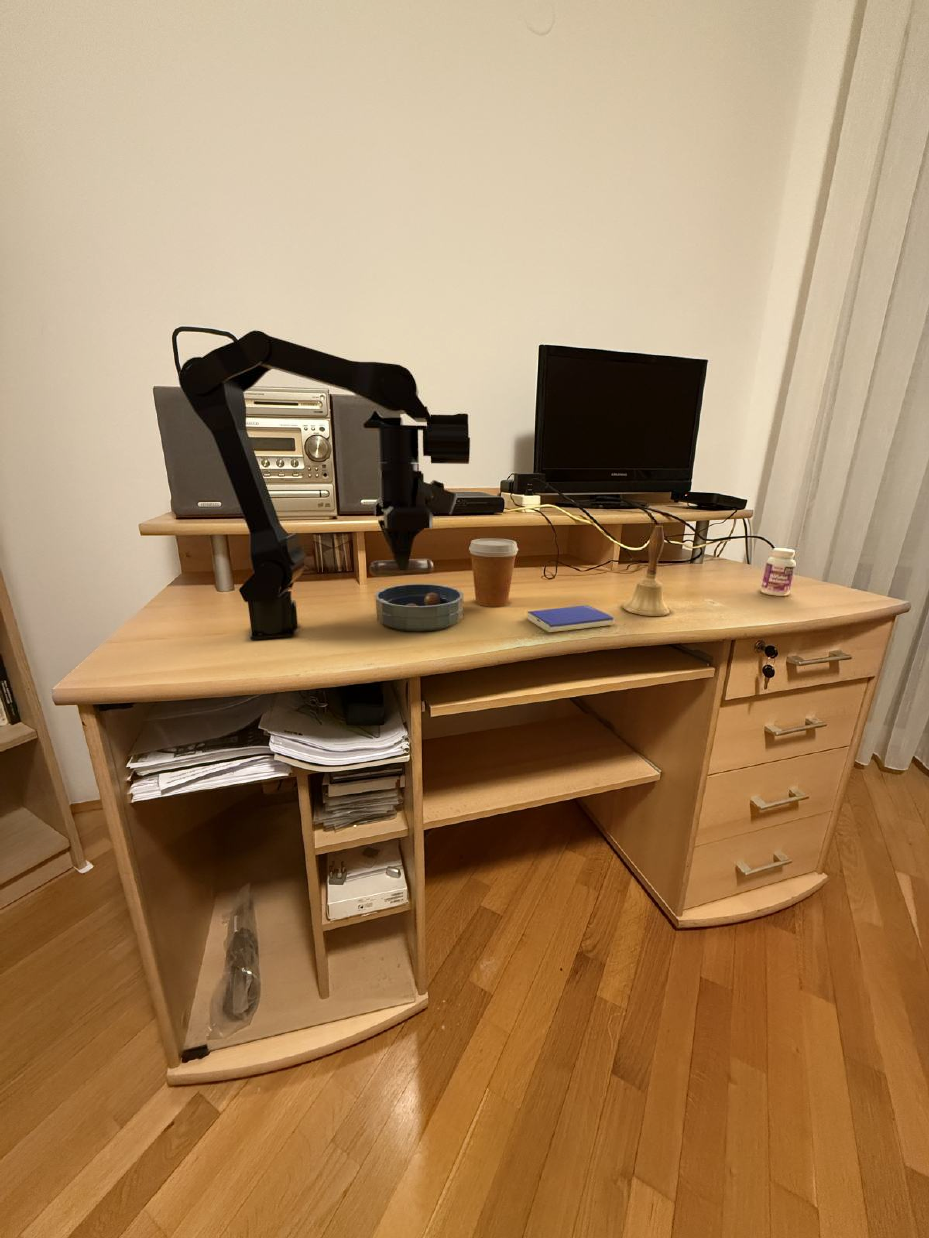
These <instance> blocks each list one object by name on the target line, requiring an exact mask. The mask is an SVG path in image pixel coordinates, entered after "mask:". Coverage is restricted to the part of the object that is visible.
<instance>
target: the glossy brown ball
mask: <svg viewBox="0 0 929 1238" xmlns="http://www.w3.org/2000/svg"><path fill="white" fill-rule="evenodd" d="M440 602H441V600H440V597H439V595H437V594H436V593H429V594H427V595H426V596H425V598H424V604H425V606H432V605H440Z"/></svg>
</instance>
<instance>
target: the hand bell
mask: <svg viewBox="0 0 929 1238" xmlns="http://www.w3.org/2000/svg"><path fill="white" fill-rule="evenodd" d="M664 545H665V534H664V526H663V525H655V526H654V529H653V531H652V532H651V535H650V537H649V540H648V548H647V549H648V551H647V552H648V565H647V570H646V573H645V575H646V576H645V577H644V578H642V579H640V580H638V581H637V583H636V586H635V589H634V592H633V594H632V596H631V598H630V599H629V600H628V601H627V602H625V603H624V605H623V609H624V610H625V611H626V612H629V613H632V614H636V615H640V616H647V617H665V616H667V615H669V614H670V610H669V608H668V606H667V605H666V603H665V602H664V598H663V583H661V582H660V581H658V579H657V574H658V571H657V570H658V563H659V560H660V556H661V555H662V552H663V549H664Z"/></svg>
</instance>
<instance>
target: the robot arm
mask: <svg viewBox="0 0 929 1238" xmlns="http://www.w3.org/2000/svg"><path fill="white" fill-rule="evenodd" d="M272 370H275V371H279V372H283V373H286V374H289V375H292V376H296V377H299V378H303V379H306V380H309V381H312V382H315V383H320V384H322V385H327V386H330V387H333V388H335V389H340V390H343V391H346V392H350V393H352V394H354V395H356V396H358V397H360V398H362V399H364V400H366V401H368V402H370V403H371V404H373V405H375V406H377V407H379V408H381V409H384V410H385V411H387V412H389V413H392V414H393V415H406V416H408V417H409V418H410V419H412V420H414V421H415V422H416V423H426V425H423V424H422V425H418V424H416V425H415V424H404V420H403V417H400V416H399V417H397V416H396V417H395V416H394V417H393V416H382V415H380V413H379V412H378V411H377V410H374V411H373V412H372V414H371V415H370V417H369V418H368V419H367V420H366V421H364V422H363V425H362V426H363V428H364V429H366V430H369V431H377V439H378V440H377V441H378V463H379V464H378V470H377V477H378V478H379V491H380V493H379V495H380V497H378V498H377V499H376V501H374V502H373V515H374V517H380V516H382V519H378V520H377V524H378V526H379V527H380V530H381V532H382V534H383V536H384V539H385V541H386V544H387V546H388V548H389V551H390V553H391V555H392V558H393V560H396V562H397V565H398V567H399V570H401V571H404V570H407V567H408V563H409V559H411V554H412V550H413V546H414V544H413V543H414V541H415V538H416V536H418V535H419V534H420V533H421V532H422V531H424V530H427V529H428V530H429V529H433V528H434V521H433V520H434V518H433V517H434V515H433V513H432V512H431V511H430V509H428V508H427V507H426V505H427V506H429V507H433V508H435V509H437V510H438V511H441V512H443V513H445V514H448V515H451V516H452V513H453V511H454V507H455V505H456V502H457V499H458V497H459V494H457V493H454V492H452V491H450V490H447V489H445V484H444V483H443V482H440V481H437V480H435V479H433V480H431V481H430V483H428V482H426V481H425V477H424V473H423V472H422V470H420V464H419V463H420V461H419V460H420V458H419V455H420V453H419V451H420V450H419V431H422V456H423V457H430V464H439V465H440V464H442V465H443V464H444V465H454V464H455V465H469V464H470V455H471V437H470V435H469V433H470V432H469V414H468V413H456V414H455V413H454V414H431V413H430V412H429V408H428V406H425V405H424V404H423V402H422V401H421V399H420V397H419V388H418V384H417V381H416V379H415V377H414V375H413V374H412V372H411V371H410V370H409V369H408V368H407V367H405V366H403V365H401V364H398V363H390V362H389V363H388V362H378V361H357V360H350V359H347V358H344V357H340V356H337V355H333V354H330V353H328V352H323V351H321V350H317V349H314V348H310V347H307V346H304V345H302V344H298V343H294V342H292V341H288V340H285V339H281V338H279V337H274V336H271V335H269V334H267V333H265V332H264V331H261V330H251V331H248V332H247V333H246V334H244V335H243V336H241V337H240V338H238V339H236V340H235V341H232V342H230V343H227V344H225V345H222V346H219V347H217V348H215V349H212V350H211V351H209V352H208V353H206V354H205V355H204V356H194V357H191V358H189V359H187V360H186V361H185V362H184V363H183V364H182V366H181V369H180V371H179V372H178V376H177V377H178V383H179V386H180V388H181V391H182V392H183V394H184V396H185V398H186V399H187V401H188V403H189V405H190V407H191V408H192V410H193V412H194V413H195V415H196V416H197V417H198V418H199V419H200V420H201V422H202V423H203V425H205V427H206V428H207V429H208V431H209V432H210V433H211V435H212V437H213V440H214V443H215V446H216V448H217V451H218V453H219V455H220V458H221V461H222V464H223V466H224V469H225V471H226V473H227V477H228V479H229V482H230V485H231V487H232V490H233V492H234V495H235V498H236V500H237V503H238V505H239V508H240V511H241V512H242V516H243V518H244V521H245V524H246V526H247V530H248V532H249V557H250V563H251V567H252V573H253V574H252V575H250V577H248V579H247V580H246V581H245V582H244V583H243V584H242V585H241V586H240V587H239V588H238V591H239V594H240V595H241V597H242V600H243V601H244V602H245V603H247V607H248V608H247V609H248V615H249V623H250V624H249V625H250V634H249V639H250V640H251V641H253V640H265V639H277V638H279V639H280V638H288V637H290V638H291V637H294V636H296V630H298V628H299V619H298V607H297V601H296V600H294V599H293V597H292V590H291V589H293V587H294V585H295V581H296V580H297V579H298V578H300V577H301V575H302V574H303V573H304V570H305V560H304V559H306V558H307V553H305V552H304V550H303V548H302V546H301V541H300V535H299V534H298V532H294V533H292V534H289V533H288V532H287V531H286V529H285V528H284V527H283V526H282V524H281V522H280V520H279V515H278V513H277V511H276V508H275V505H274V502H273V500H272V496H271V494H270V492H269V489H268V486H267V483H266V481H265V478H264V475H263V473H262V472H263V471H262V469H261V467H260V464H259V461H258V459H257V456H256V452H255V450H254V447H253V444H252V441H251V439H250V436H249V433H248V430H247V405H246V399H245V392H247V391H248V390H249V389H251V388H253V387H254V386H255V385H256V384H257V383H258V382H259V381H260V380H261V379H262V378H263V377H264V376H265V375H266V374H267V373H269V372H270V371H272Z"/></svg>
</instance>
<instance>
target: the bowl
mask: <svg viewBox="0 0 929 1238" xmlns="http://www.w3.org/2000/svg"><path fill="white" fill-rule="evenodd" d="M429 593H436V594H437V595H439V597H440V600H441V602H440V605H432V606H425V604H424V598H425V596H426V595H427V594H429ZM373 597H374V599H373V600H374V616H375V619H376V621H378V622H379V623H381V624H383V625H385V626H386V627H388V628H390V629H394V630H397V631H405V632H433V631H438V630H443V629H446V628H449V627H451V626H453V625H454V624H456V623H458V622H460V621H461V620H462V619H463V617H464V593H463V592H462V591H461V590H460V589H457V588H454V587H452V586H447V585H442V584H434V583H409V584H407V583H405V584H399V585H392V586H389V587H385V588H381V589H380V590H378V591H376V592H375V594H374V596H373ZM411 603H412V604H416V605H417V606H406V605H407V604H411Z"/></svg>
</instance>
